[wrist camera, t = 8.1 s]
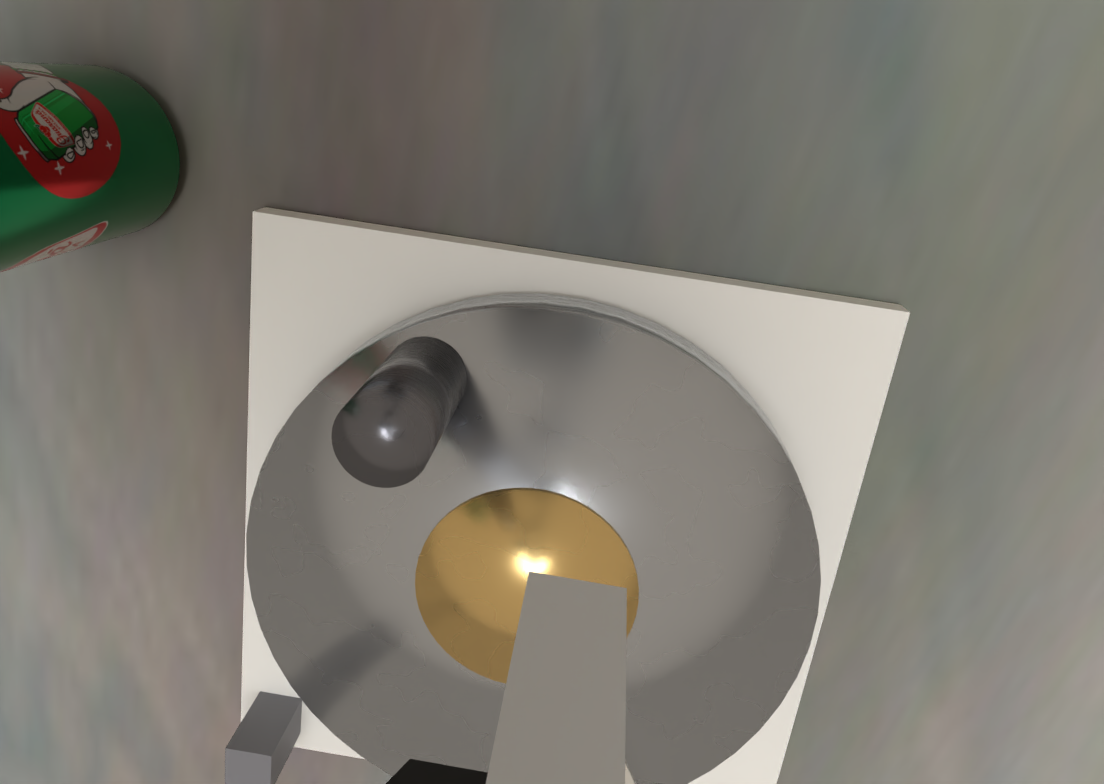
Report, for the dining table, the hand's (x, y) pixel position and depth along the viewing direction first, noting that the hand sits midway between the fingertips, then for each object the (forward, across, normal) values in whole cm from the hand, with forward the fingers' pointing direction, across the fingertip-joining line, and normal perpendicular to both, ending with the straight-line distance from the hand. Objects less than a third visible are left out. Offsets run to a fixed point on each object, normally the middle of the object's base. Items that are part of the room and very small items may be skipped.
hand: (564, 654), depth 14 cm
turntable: (+14, -1, -7) cm, 16 cm away
